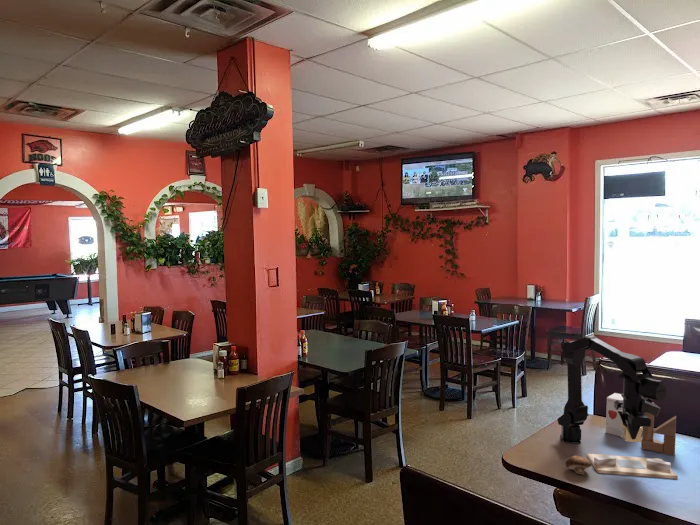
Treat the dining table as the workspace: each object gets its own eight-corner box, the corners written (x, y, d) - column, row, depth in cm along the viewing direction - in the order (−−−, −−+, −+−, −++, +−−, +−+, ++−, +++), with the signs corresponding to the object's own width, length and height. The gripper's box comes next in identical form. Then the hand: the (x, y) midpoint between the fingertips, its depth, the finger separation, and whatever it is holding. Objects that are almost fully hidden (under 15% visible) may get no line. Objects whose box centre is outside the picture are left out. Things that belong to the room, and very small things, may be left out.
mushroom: (589, 472, 170) (584, 452, 174) (564, 475, 174) (560, 456, 178) (596, 475, 175) (591, 456, 179) (572, 478, 180) (568, 460, 183)
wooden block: (674, 456, 189) (676, 408, 188) (641, 449, 195) (642, 402, 194) (674, 452, 192) (676, 405, 191) (642, 445, 198) (643, 400, 197)
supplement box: (604, 432, 211) (605, 396, 210) (613, 426, 217) (614, 392, 216) (628, 439, 204) (629, 402, 203) (636, 433, 211) (637, 397, 210)
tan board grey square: (597, 472, 176) (597, 463, 176) (587, 456, 189) (587, 447, 189) (677, 478, 172) (677, 469, 172) (661, 461, 185) (661, 452, 185)
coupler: (639, 437, 181) (639, 424, 181) (643, 442, 178) (644, 428, 177) (619, 436, 183) (619, 422, 182) (622, 441, 179) (623, 427, 178)
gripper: (669, 403, 168) (667, 449, 169) (647, 386, 187) (645, 428, 188) (632, 401, 170) (631, 447, 171) (614, 384, 189) (612, 426, 190)
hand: (631, 436), depth 180 cm, fingers closed on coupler, 4 cm apart
